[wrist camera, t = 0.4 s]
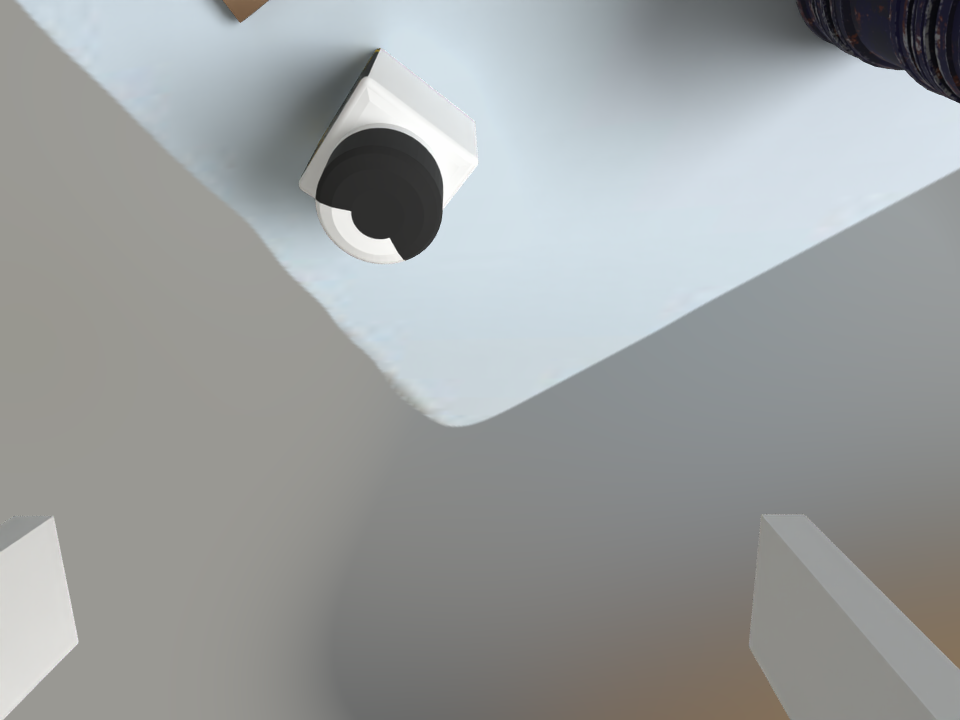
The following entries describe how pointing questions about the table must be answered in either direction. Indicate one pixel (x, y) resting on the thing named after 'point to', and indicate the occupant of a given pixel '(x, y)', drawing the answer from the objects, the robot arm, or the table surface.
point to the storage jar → (895, 36)
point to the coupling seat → (244, 7)
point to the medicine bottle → (389, 164)
